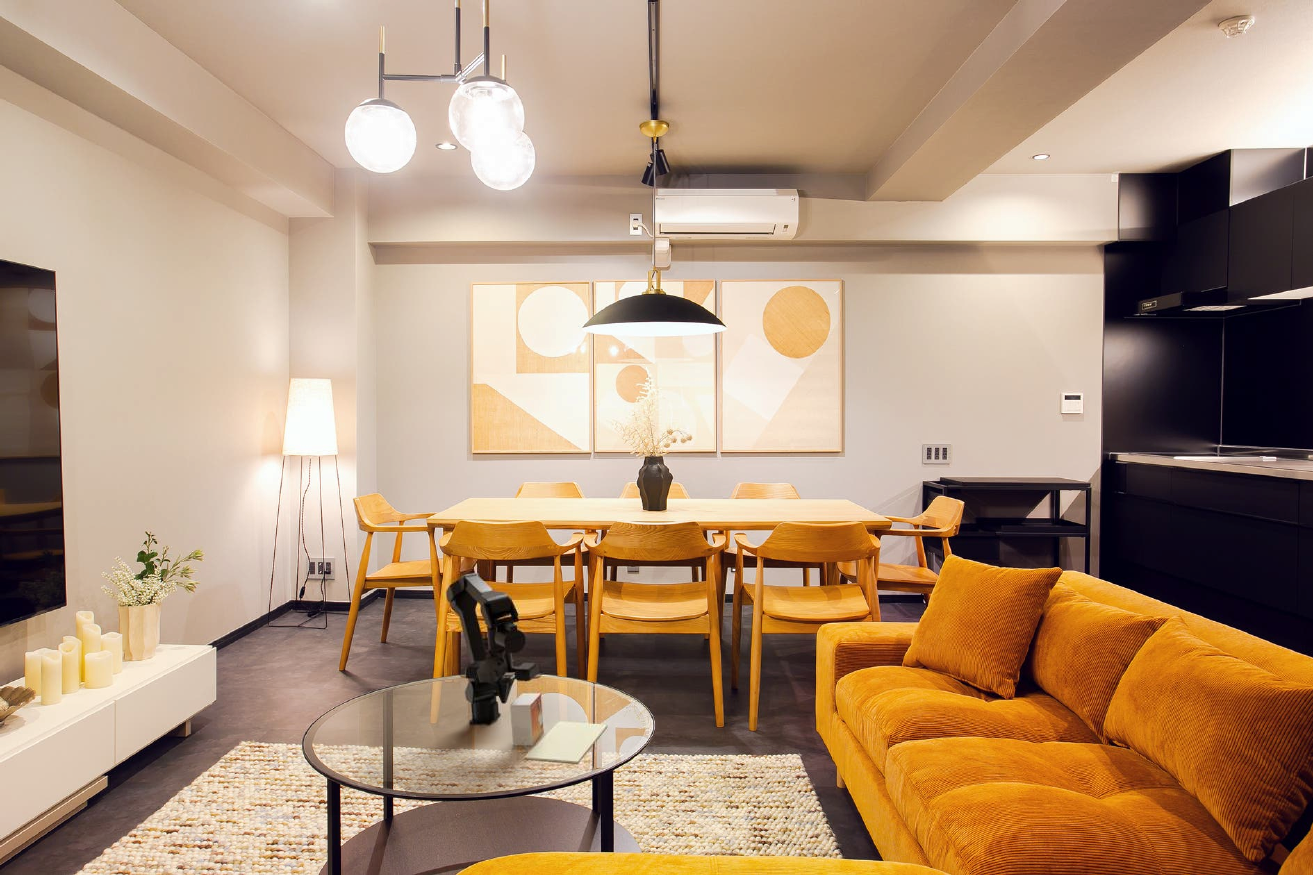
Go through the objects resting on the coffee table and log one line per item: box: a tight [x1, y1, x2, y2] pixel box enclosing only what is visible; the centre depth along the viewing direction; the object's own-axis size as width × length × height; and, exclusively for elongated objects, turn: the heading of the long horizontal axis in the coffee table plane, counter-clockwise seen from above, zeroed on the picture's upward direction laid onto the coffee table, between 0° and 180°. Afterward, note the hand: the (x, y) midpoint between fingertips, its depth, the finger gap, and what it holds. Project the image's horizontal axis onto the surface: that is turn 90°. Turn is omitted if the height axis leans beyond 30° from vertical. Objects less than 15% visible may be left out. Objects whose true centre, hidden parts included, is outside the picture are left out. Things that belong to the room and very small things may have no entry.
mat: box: [524, 720, 609, 764], centre depth 181 cm, size 14×20×1 cm
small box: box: [509, 692, 545, 747], centre depth 184 cm, size 8×6×10 cm
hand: (504, 703), depth 186 cm, fingers closed
